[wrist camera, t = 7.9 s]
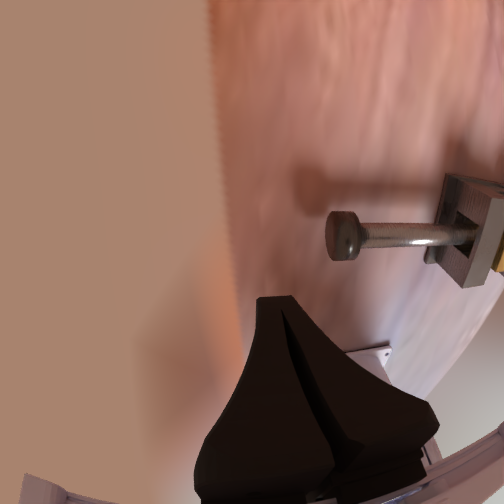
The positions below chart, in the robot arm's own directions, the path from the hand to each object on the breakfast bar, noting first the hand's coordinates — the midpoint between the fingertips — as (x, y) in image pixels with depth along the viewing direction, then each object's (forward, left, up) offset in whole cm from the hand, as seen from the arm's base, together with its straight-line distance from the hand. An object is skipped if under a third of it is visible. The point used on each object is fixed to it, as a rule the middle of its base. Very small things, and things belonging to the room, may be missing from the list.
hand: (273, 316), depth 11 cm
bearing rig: (0, -21, -9) cm, 23 cm away
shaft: (0, -12, -8) cm, 14 cm away
